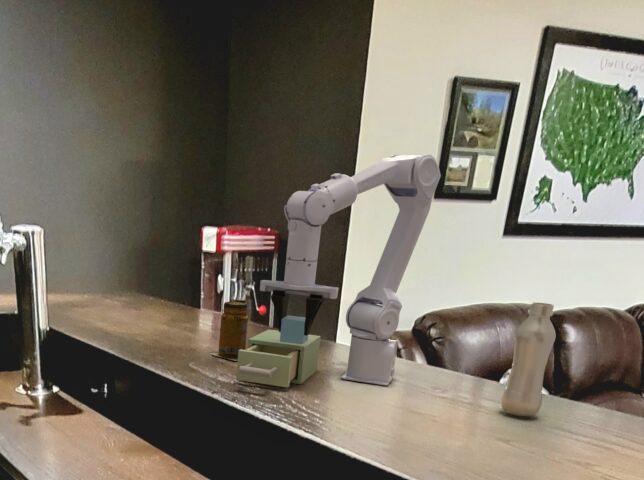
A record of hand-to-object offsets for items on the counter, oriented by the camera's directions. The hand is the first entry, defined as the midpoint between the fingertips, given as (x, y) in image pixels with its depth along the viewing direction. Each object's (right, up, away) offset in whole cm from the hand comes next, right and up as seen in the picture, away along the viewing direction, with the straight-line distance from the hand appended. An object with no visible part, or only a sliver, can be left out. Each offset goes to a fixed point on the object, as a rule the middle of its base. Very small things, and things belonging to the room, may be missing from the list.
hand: (293, 333), depth 138 cm
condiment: (-10, -1, +26) cm, 28 cm away
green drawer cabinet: (-1, -6, +13) cm, 15 cm away
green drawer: (-5, -9, +4) cm, 10 cm away
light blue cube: (0, -1, +1) cm, 2 cm away
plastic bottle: (+40, -16, -7) cm, 44 cm away
